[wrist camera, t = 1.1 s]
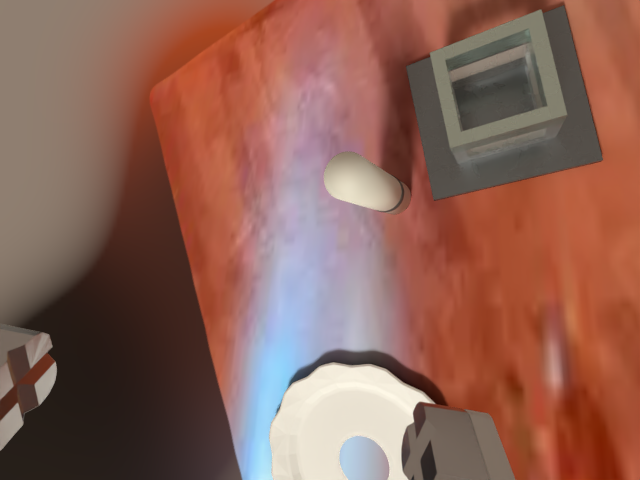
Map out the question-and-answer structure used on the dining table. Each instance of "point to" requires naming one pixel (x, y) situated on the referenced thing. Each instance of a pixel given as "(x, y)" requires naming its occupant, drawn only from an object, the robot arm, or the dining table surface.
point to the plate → (340, 420)
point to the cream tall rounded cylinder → (365, 184)
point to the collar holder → (503, 106)
